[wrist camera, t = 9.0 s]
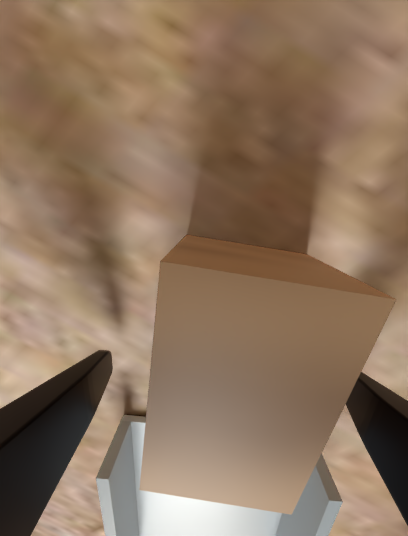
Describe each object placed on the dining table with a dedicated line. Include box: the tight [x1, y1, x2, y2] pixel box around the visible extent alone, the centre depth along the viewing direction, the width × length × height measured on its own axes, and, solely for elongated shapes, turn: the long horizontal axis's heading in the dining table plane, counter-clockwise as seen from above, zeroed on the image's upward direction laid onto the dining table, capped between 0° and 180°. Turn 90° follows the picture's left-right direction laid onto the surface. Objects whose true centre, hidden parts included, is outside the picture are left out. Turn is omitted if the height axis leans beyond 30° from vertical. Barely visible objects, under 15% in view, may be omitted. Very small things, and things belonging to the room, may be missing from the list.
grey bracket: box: [96, 415, 343, 536], centre depth 11 cm, size 11×10×2 cm
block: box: [139, 235, 396, 515], centre depth 7 cm, size 7×4×4 cm, turn 171°
